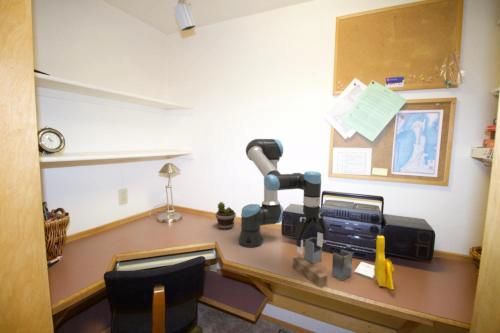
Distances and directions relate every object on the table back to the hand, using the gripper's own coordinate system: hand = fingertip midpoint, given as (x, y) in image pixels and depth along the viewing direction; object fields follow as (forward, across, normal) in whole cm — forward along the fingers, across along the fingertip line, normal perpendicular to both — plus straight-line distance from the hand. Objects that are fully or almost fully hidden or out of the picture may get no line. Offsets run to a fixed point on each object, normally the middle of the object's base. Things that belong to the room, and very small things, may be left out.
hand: (310, 249), depth 110 cm
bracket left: (+13, +13, +8) cm, 20 cm away
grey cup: (+13, +13, -8) cm, 20 cm away
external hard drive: (+14, +27, -13) cm, 33 cm away
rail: (+13, 0, 0) cm, 13 cm away
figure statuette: (+13, +23, -23) cm, 35 cm away
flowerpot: (+12, -4, +76) cm, 77 cm away
